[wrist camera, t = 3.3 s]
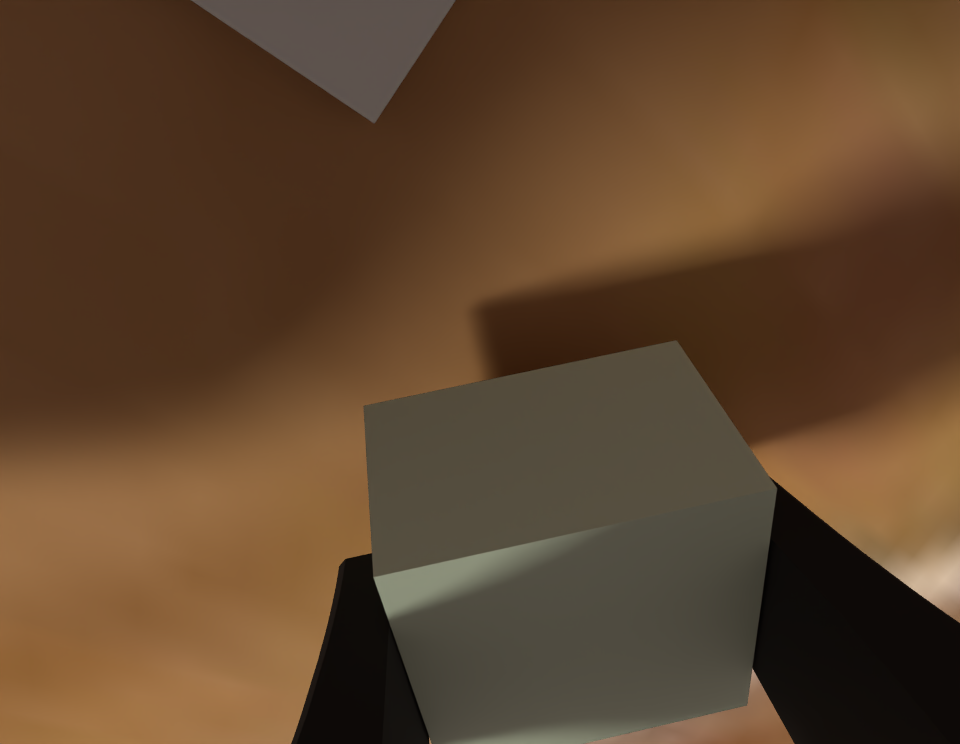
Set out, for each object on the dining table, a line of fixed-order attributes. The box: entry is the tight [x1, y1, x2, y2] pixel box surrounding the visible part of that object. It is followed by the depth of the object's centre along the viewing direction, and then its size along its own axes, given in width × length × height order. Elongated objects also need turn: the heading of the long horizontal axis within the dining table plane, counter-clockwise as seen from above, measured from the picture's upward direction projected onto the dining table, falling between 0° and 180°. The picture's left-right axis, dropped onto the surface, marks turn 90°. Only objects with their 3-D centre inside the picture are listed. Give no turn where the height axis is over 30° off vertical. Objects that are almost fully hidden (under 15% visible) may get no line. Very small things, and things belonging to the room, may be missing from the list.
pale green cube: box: [364, 340, 777, 744], centre depth 11 cm, size 4×4×3 cm
